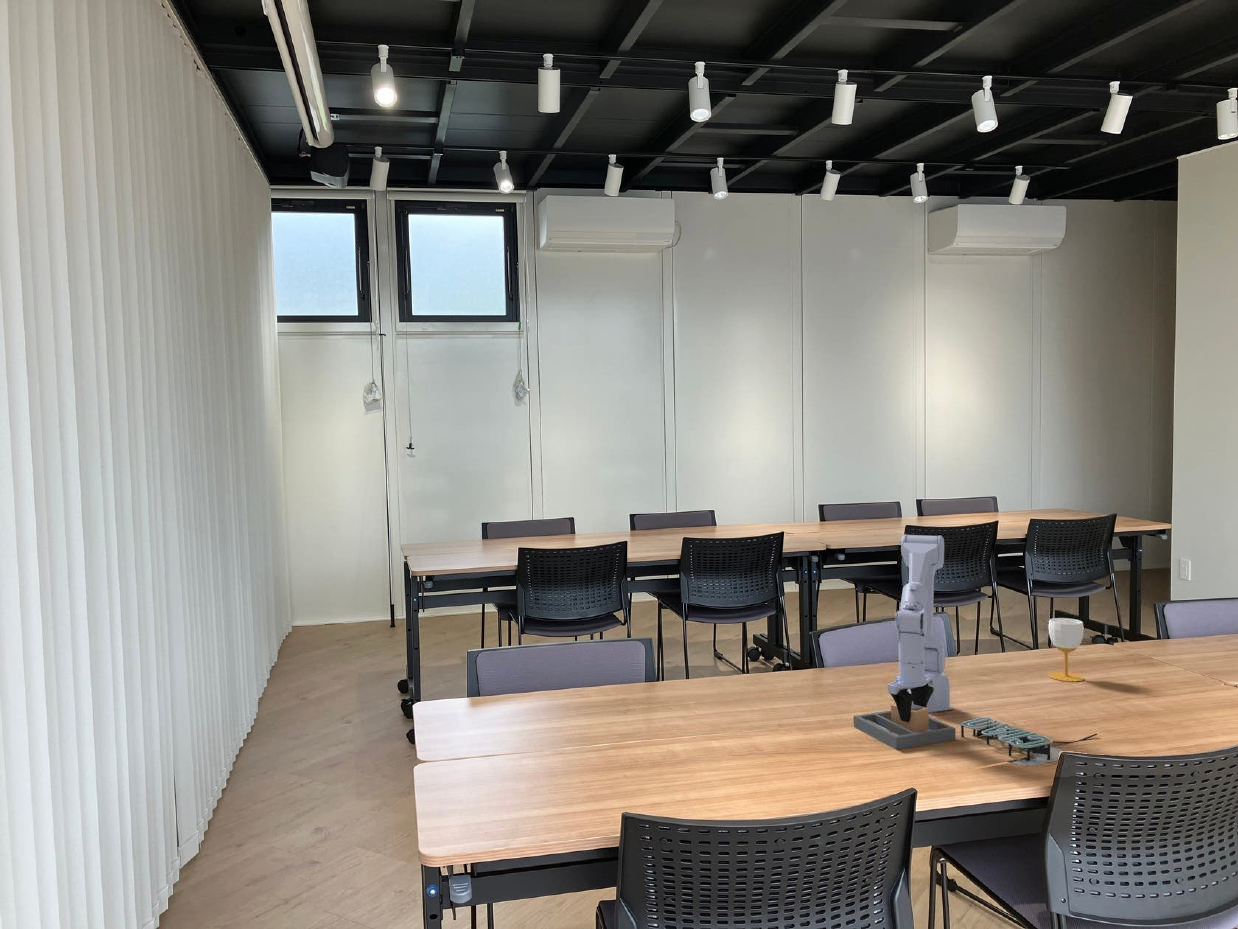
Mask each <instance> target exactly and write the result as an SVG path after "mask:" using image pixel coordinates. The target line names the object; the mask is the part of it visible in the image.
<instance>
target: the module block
mask: <svg viewBox="0 0 1238 929" xmlns="http://www.w3.org/2000/svg"><path fill="white" fill-rule="evenodd" d="M890 710H891V721H892V722H894V723H896V724H898V725H900V726H903V727H905V728H907V729H909V730H911V731H913V732H915V733H918V732H924V731H927V730H929V717H930V715H929V714H930V713H929V712H928V708H925V707H921V706H918V705H915V704H912V706H911V717H910V722H905V721H902V720H901V719H900V716H899V712H898V708H897V705H896V703H893V704H891V705H890Z"/></svg>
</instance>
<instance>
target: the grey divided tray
mask: <svg viewBox="0 0 1238 929" xmlns="http://www.w3.org/2000/svg"><path fill="white" fill-rule="evenodd" d="M867 720H870V721H872V722H874V723H876V724H878V725H880V726H882V727H884V728H886V729H888V730H890V731H892V732H894V733H896V734H898V735H899V736H896V735H895V734H893V733H891V732H889V731H887V730H885V729H883V728H881V727H879V726H877V725H875V724H873V723H871V722H869V721H867ZM853 728H855V729H857V730H859V731H860V732H862V733H864V734H866V735H867V736H870V737H871V738H874V739H875V740H877V741H879V742H881V743H882V744H885V745H886V746H888V747H890V748H892V749H894V750H904V749H909V748H915V747H916V748H917V747H922V746H927V745H929V746H930V745H934V744H940V743H947V742H951V741H956V733H957V732H956V728H955V727H953V726H951V725H950V724H947V723H944V722H942V721H940V720H938V719H936V718H934V717H931V716H929V730H927V731H924V732H918V733H915V732H913V731H911V730H909V729H907V728H905V727H903V726H900V725H898V724H896V723H894V722H892V721H891V709H890V710H885V711H878V712H871V713H864V714H858V715H853Z"/></svg>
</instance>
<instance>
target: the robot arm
mask: <svg viewBox="0 0 1238 929" xmlns="http://www.w3.org/2000/svg"><path fill="white" fill-rule="evenodd" d="M900 544H901V545H900V552H901V554H900V555H901V557H902V559H903V562H904V564H905V566H906V567H908V583H906V584H904V586H903V587H902V593H901V600H900V606H899V610H897V611H896V613H895V624H894V625H895V630H896V640H897V642H898V675H897V676H895V680H894V681H892V682H890V683H888V684H887V693H889V694H890V695H891V697H892V699H893V700H894V704H896V705H897V708H898V712H899V716H900V719H901V720H902V721H905V722H910V717H911V706H912V704H915V705H918V706H921V707H925V708H928V713H937V712H943V711H944V712H945V711H950V710H952V709H953V707H952V706H950V704H951V703H950V699H951V697H950V695H951V694H950V691H951V689H950V682H949V678H948V677H947V675H946V674H945V673H944V672H945V668H946V652H945V644H944V642H943V641H942V640H941V639H940V638H938V637H937V636H936V635H934V594H935V592H934V590H935V589H934V585H935V584H934V583H935V574H936V571H937V570H940V569H942V568H944V567H943V566H944V563H945V539H944V537H943V536H942V535H920V534H919V535H918V534H917V535H916V534H915V535H914V534H906V533H905V534H904V535H903V536H902V537H901V543H900Z"/></svg>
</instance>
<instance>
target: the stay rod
mask: <svg viewBox="0 0 1238 929" xmlns="http://www.w3.org/2000/svg"><path fill="white" fill-rule="evenodd" d="M867 721H869V722H871V723H873V724H875V725H877V726H879V727H881V728H883V729H885V730H887V731H889V732H891V733H893V734H895V735H896V736H899V735H898V734H896V733H894V732H892V731H890V730H888V729H886V728H884V727H882V726H880V725H878V724H876V723H874V722H872V721H870V720H867Z"/></svg>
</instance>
